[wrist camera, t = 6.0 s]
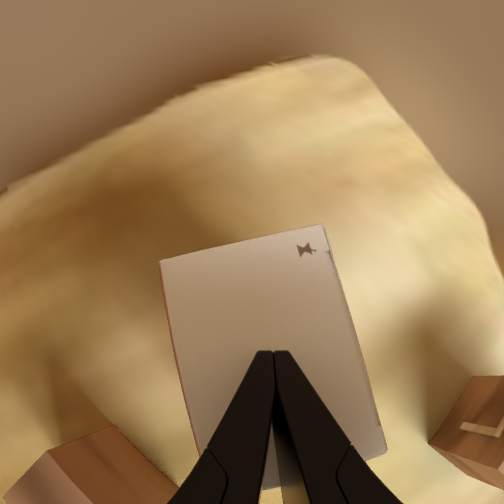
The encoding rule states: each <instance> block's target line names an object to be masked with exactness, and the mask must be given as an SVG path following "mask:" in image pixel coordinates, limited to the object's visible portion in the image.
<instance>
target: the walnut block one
mask: <svg viewBox="0 0 504 504" xmlns="http://www.w3.org/2000/svg"><path fill="white" fill-rule="evenodd" d="M178 489H179V487H178V486H177V485H175V484H174V483H173V482H172V481H171V480H170V479H168V478H167V477H166V476H165V475H164V474H163V473H162V472H161V471H160V470H158V469H157V468H156V467H155V466H154V465H153V464H152V463H151V462H150V461H149V460H148V459H147V458H146V457H145V456H144V455H143V454H142V453H141V452H140V451H139V450H138V449H137V448H136V447H135V446H134V445H133V444H132V443H131V442H130V441H129V440H128V439H127V438H126V437H125V436H124V435H123V434H122V433H121V432H120V431H119V430H118V429H117V428H116V426H115V425H112V426H110V427H107V428H105V429H102V430H100V431H97V432H95V433H93V434H90V435H87V436H85V437H82V438H80V439H77V440H75V441H72V442H69V443H67V444H64V445H61V446H58V447H56V448H53V449H50V450H47V451H46V452H45V453H44V454H43V455H42V456H41V457H40V458H39V459H38V460H37V461H36V462H35V463H34V464H33V465H32V466H31V467H30V469H29V470H28V471H27V472H26V473H25V474H24V475H23V476H22V477H21V478H20V479H19V480H18V481H17V482H16V483H15V484H14V485H13V486H12V487H11V488H10V490H9V491H8V492H7V493H6V494H5V495H4V496H3V497H2V498H3V499H4V500H5V502H6V503H7V504H167V502H168V501H169V500H170V499H171V498H172V497H173V495H174V494H175V493H176V492H177V490H178Z"/></svg>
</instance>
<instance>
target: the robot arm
mask: <svg viewBox="0 0 504 504" xmlns="http://www.w3.org/2000/svg"><path fill="white" fill-rule="evenodd" d="M271 423H272V430H273V437H274V444H275V451H276V458H277V465H278V471H279V478H280V485H281V492H282V498H283V504H403V503H402V502H401V501H400V500H399V499H398V498H397V497H396V496H395V495H394V494H393V493H392V492H391V491H390V490H389V489H388V488H387V487H386V486H385V485H384V483H383V482H382V481H381V480H380V479H379V478H378V477H377V476H376V475H375V473H374V472H373V471H372V470H371V469H370V467H369V466H368V465H367V463H366V462H365V461H364V459H363V458H362V457H361V456H360V454H359V453H358V451H357V450H356V448H355V447H354V445H351V441H350V440H349V439H348V437H347V436H346V434H345V433H344V431H343V430H342V428H341V427H340V425H339V424H338V423H337V421H336V420H335V418H334V417H333V415H332V414H331V412H330V411H329V409H328V408H327V406H326V405H325V404H324V402H323V401H322V399H321V398H320V396H319V395H318V393H317V392H316V390H315V389H314V387H313V386H312V384H311V383H310V381H309V380H308V378H307V377H306V375H305V374H304V372H303V371H302V369H301V368H300V366H299V365H298V363H297V362H296V360H295V359H294V357H293V356H292V354H291V353H290V352H289V351H288V350H275V351H274V352H272V351H271V350H258V351H257V352H256V354H255V356H254V358H253V360H252V362H251V364H250V366H249V368H248V370H247V372H246V373H245V375H244V377H243V379H242V381H241V383H240V385H239V387H238V389H237V391H236V393H235V395H234V396H233V398H232V400H231V402H230V404H229V406H228V408H227V410H226V411H225V413H224V415H223V417H222V419H221V421H220V422H219V424H218V426H217V428H216V430H215V432H214V433H213V435H212V437H211V439H210V441H209V442H208V444H207V448H205V449H204V451H203V453H202V455H201V456H200V458H199V460H198V461H197V463H196V465H195V466H194V468H193V469H192V471H191V473H190V474H189V476H188V477H187V478H186V480H185V481H184V482H183V484H182V485H181V486H180V488H179V489H178V490H177V492H176V493H175V494H174V495H173V497H172V498H171V499H170V500H169V501H168V502H167V504H260V498H261V492H262V485H263V479H264V473H265V466H266V459H267V453H268V446H269V439H270V431H271Z"/></svg>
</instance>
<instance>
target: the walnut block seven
mask: <svg viewBox="0 0 504 504" xmlns="http://www.w3.org/2000/svg"><path fill="white" fill-rule="evenodd" d="M428 444H429V445H430V446H431V447H432V448H434V449H435V450H436V451H437V452H439V453H440V454H441V455H442V456H444V457H445V458H446V459H447V460H449V461H450V462H451V463H452V464H454V465H455V466H456V467H457V468H459V469H460V470H461V471H462V472H464V473H465V474H466V475H468V476H470V477H473V478H475V479H477V480H480V481H482V482H485V483H487V484H490V485H492V486H495V487H497V488H500V489H503V490H504V376H473V377H472V379H471V380H470V382H469V384H468V385H467V387H466V389H465V390H464V392H463V394H462V395H461V397H460V398H459V400H458V402H457V403H456V405H455V406H454V408H453V409H452V411H451V412H450V414H449V415H448V417H447V418H446V420H445V421H444V422H443V424H442V425H441V427H440V428H439V430H438V431H437V432H436V434H435V435H434V436H433V438H432V439H431V440H430V442H429V443H428Z"/></svg>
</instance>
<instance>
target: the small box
mask: <svg viewBox="0 0 504 504" xmlns="http://www.w3.org/2000/svg"><path fill="white" fill-rule="evenodd" d="M158 265H159V270H160V277H161V284H162V290H163V296H164V302H165V308H166V314H167V319H168V325H169V330H170V335H171V340H172V345H173V350H174V355H175V360H176V365H177V369H178V374H179V378H180V383H181V387H182V392H183V396H184V400H185V404H186V408H187V412H188V416H189V420H190V424H191V427H192V431H193V435H194V439H195V442H196V446H197V450H198V453H199V457H200V456H201V455H202V453H203V451H204V449H205V448H207V444H208V442H209V441H210V439H211V437H212V435H213V433H214V432H215V430H216V428H217V426H218V424H219V422H220V421H221V419H222V417H223V415H224V413H225V411H226V410H227V408H228V406H229V404H230V402H231V400H232V398H233V396H234V395H235V393H236V391H237V389H238V387H239V385H240V383H241V381H242V379H243V377H244V375H245V373H246V372H247V370H248V368H249V366H250V364H251V362H252V360H253V358H254V356H255V354H256V352H257V351H258V350H271V351H272V352H274V351H275V350H288V351H289V352H290V353H291V354H292V356H293V357H294V359H295V360H296V362H297V363H298V365H299V366H300V368H301V369H302V371H303V372H304V374H305V375H306V377H307V378H308V380H309V381H310V383H311V384H312V386H313V387H314V389H315V390H316V392H317V393H318V395H319V396H320V398H321V399H322V401H323V402H324V404H325V405H326V406H327V408H328V409H329V411H330V412H331V414H332V415H333V417H334V418H335V420H336V421H337V423H338V424H339V425H340V427H341V428H342V430H343V431H344V433H345V434H346V436H347V437H348V439H349V440H350V441H351V445H354V447H355V448H356V450H357V451H358V453H359V454H360V456H361V457H362V458H363V459H364V461H367V460H370V459H372V458H375V457H377V456H380V455H383V454H384V453H386V451H387V449H388V448H387V443H386V440H385V437H384V433H383V429H382V426H381V423H380V419H379V415H378V412H377V408H376V404H375V400H374V397H373V393H372V389H371V385H370V381H369V377H368V374H367V370H366V366H365V363H364V359H363V355H362V352H361V348H360V345H359V341H358V338H357V334H356V331H355V328H354V324H353V321H352V317H351V314H350V311H349V307H348V304H347V301H346V298H345V294H344V291H343V288H342V285H341V281H340V278H339V275H338V271H337V268H336V265H335V262H334V258H333V255H332V250H331V247H330V243H329V240H328V237H327V233H326V230H325V227H324V225H323V224H316V225H312V226H308V227H303V228H299V229H294V230H289V231H285V232H280V233H276V234H271V235H267V236H262V237H258V238H253V239H248V240H244V241H240V242H236V243H231V244H227V245H222V246H218V247H213V248H209V249H205V250H200V251H196V252H192V253H188V254H184V255H180V256H176V257H172V258H167V259H163V260H160V261H159V263H158ZM277 487H281V485H280V478H279V471H278V465H277V458H276V451H275V444H274V437H273V430H272V423H271V431H270V439H269V446H268V453H267V459H266V466H265V473H264V479H263V485H262V490H267V489H272V488H277Z"/></svg>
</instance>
